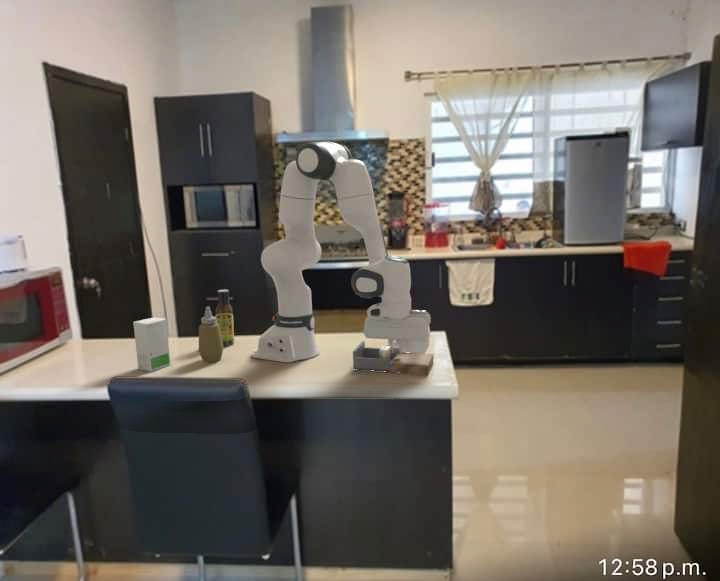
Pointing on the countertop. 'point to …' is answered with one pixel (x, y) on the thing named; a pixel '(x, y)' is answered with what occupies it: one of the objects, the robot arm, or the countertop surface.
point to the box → (371, 359)
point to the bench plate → (413, 363)
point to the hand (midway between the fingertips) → (397, 352)
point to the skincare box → (152, 344)
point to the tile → (384, 352)
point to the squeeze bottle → (210, 338)
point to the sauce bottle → (225, 317)
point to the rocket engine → (413, 346)
